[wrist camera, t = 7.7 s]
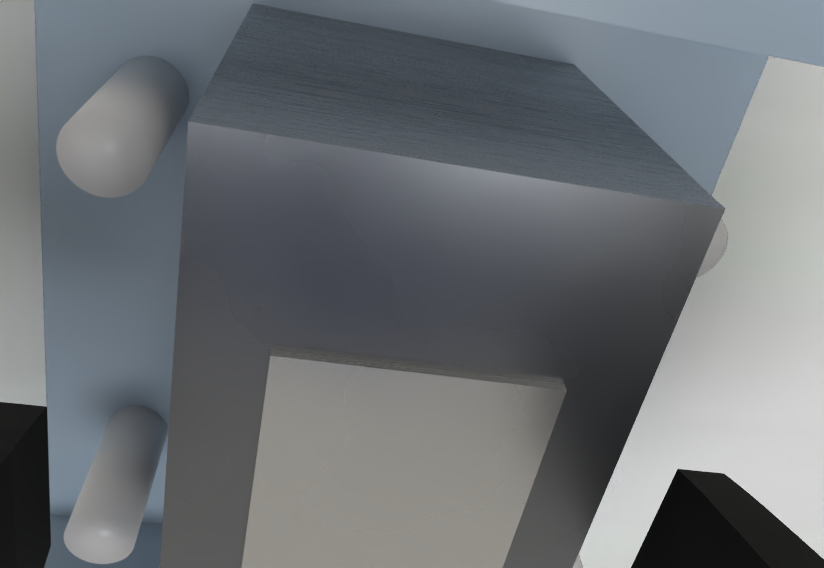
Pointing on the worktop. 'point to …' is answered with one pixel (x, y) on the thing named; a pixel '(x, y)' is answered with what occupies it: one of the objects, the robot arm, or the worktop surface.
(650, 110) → the tray
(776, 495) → the worktop surface
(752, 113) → the worktop surface
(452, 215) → the block
